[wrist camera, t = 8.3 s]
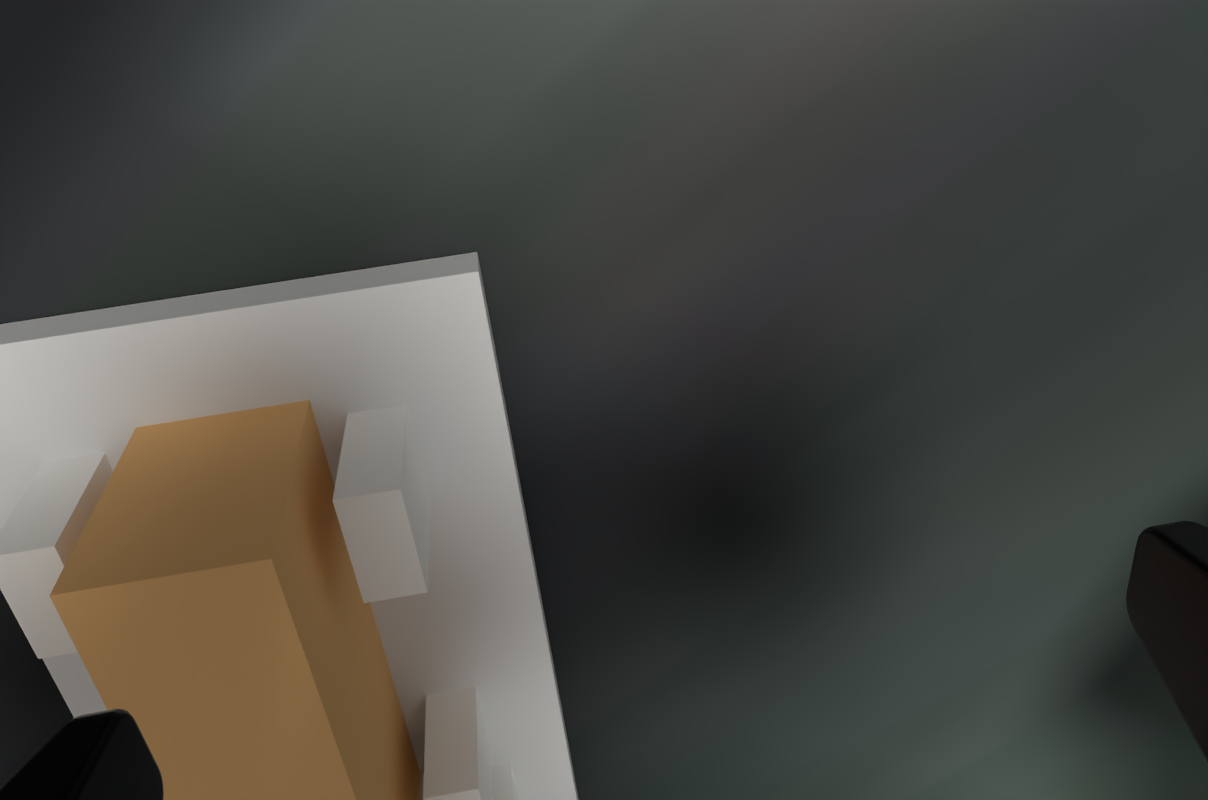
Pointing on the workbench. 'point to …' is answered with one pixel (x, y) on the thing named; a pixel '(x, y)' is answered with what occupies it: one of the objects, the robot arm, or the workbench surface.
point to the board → (360, 473)
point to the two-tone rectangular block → (236, 616)
